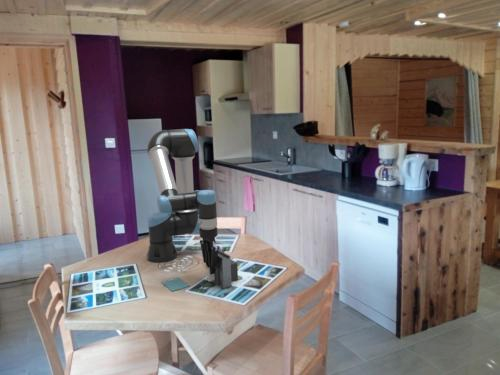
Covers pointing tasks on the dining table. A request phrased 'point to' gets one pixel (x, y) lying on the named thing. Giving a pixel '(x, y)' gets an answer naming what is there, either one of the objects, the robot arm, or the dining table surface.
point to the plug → (233, 273)
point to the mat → (175, 284)
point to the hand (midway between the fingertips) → (211, 280)
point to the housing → (224, 269)
